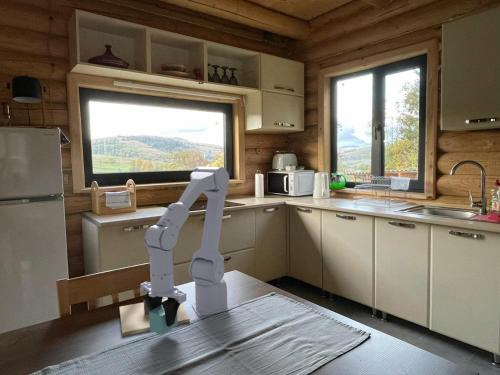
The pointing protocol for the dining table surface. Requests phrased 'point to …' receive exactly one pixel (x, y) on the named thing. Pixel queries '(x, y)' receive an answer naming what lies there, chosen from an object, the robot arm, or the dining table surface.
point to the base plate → (143, 318)
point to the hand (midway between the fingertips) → (163, 322)
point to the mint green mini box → (160, 321)
